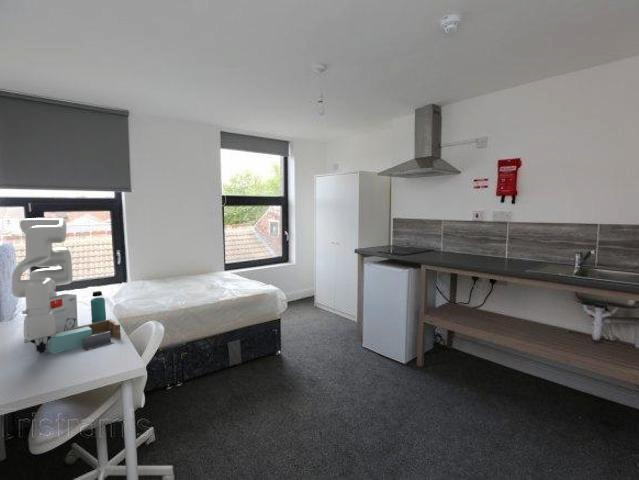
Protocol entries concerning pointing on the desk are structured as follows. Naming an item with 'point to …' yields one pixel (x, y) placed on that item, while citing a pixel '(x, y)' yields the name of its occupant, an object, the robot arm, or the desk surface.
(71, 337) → the mint green box
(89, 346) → the grey bookend
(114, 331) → the walnut rack
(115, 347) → the desk surface
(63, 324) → the hard drive box
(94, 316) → the beverage bottle
